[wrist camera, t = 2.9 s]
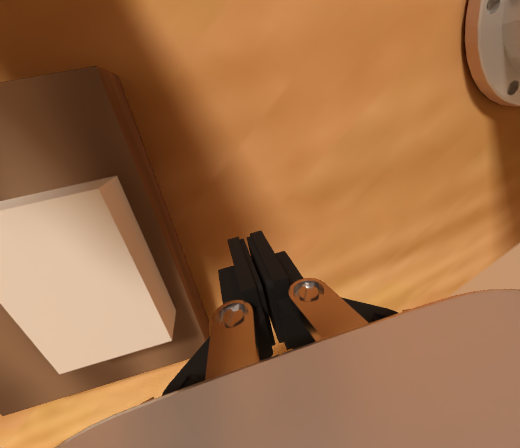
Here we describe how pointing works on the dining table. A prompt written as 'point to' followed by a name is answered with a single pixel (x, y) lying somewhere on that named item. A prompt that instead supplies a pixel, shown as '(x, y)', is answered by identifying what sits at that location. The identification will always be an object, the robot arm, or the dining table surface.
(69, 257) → the tile
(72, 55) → the dining table surface
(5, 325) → the plate
